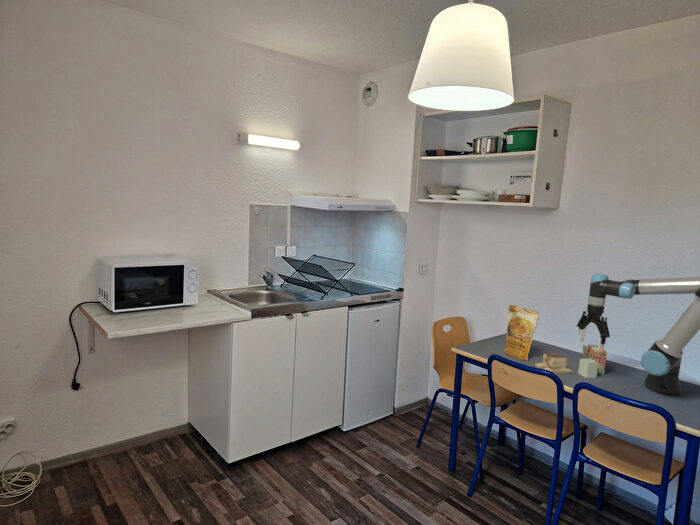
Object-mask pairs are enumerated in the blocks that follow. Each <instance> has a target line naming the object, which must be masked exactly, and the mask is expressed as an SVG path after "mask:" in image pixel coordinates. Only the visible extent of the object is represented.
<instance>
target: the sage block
mask: <svg viewBox="0 0 700 525" xmlns="http://www.w3.org/2000/svg"><path fill="white" fill-rule="evenodd" d="M578 363H579V365H578V372H577V373H579V374H578V375H580V374H581V375H580V376H582V377H583V378H585V379H595V378H596V379H597V376H598V374H597V370H598V362H596V361H594V360H592V359H582V358H580V359H579V362H578Z"/></svg>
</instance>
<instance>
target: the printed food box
mask: <svg viewBox="0 0 700 525" xmlns="http://www.w3.org/2000/svg"><path fill="white" fill-rule="evenodd" d="M598 345H599V344H598ZM598 345H597V344H596V345H595V344H590V343H589V344H587V345H585V344H583V346H582V356H581V357H582V358H581V359H592V360H594V361H596V362H598V370H597V375H598V374H599V375H605V371H606V369H605V368H606V363H607V356H608V351H607V350H606V348H604V350H598Z"/></svg>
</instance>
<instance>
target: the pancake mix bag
mask: <svg viewBox="0 0 700 525" xmlns="http://www.w3.org/2000/svg"><path fill="white" fill-rule="evenodd" d="M507 309H508V310H507V312H508V313H507V322H506V337H505V338H506V340H505V341H506V342H505V345H504V346H505V347H504V353H505V354H506V355H507V356H511V357H513V358H515V359H519V360H521V361H528V360H529V352H530V348H531V347H532V346H531V345H532V342H533V338H534V336H535V333H536V332H535V331H536V328H537V325H538V322H539V318H540V313H538V311H537V310H533V309H530V308H526V307H522V306H517V305H513V304H510V305H508V308H507Z"/></svg>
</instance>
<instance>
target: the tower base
mask: <svg viewBox="0 0 700 525" xmlns="http://www.w3.org/2000/svg"><path fill="white" fill-rule="evenodd" d="M567 359H568V358H566V357H565V356H563V355H560V354H558V353H543V356H542V362H534V366H536V367H537V368H539V369H541V368H542V369H545V370H548V371H550V372H553V373H555V374H554V375H570V374H569V373H573V374H574V371H573V370H571V369H570V368H567V361H568V360H567ZM542 369H541V370H542Z"/></svg>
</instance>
